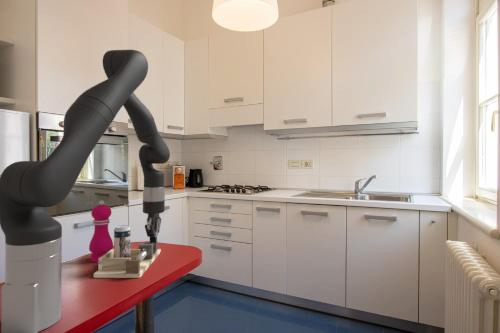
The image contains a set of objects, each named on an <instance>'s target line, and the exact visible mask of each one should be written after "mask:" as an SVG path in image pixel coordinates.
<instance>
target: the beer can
mask: <svg viewBox="0 0 500 333" xmlns="http://www.w3.org/2000/svg"><path fill="white" fill-rule="evenodd" d="M113 249H114V258H130V249H131V227H130V225H127V224H121V225H120V224H119V225H116V226H115V228H114V229H113Z"/></svg>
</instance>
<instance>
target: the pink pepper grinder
mask: <svg viewBox="0 0 500 333" xmlns="http://www.w3.org/2000/svg"><path fill="white" fill-rule="evenodd" d="M98 201H99V200H98ZM111 216H112V209H111V207H110V206H109V205H106V204H105V200H100V201H99V202H98V205H95V207H93V208H92V210H91V217H92V218H93V220H92V221H93V223H92V225H94V232H93V235H92V237H91V239H90V241H89V245H88V246H89V247H88V250H89V251H90V252H91V254H90V262H92V263H98V259H99V258H100V257H102V256H103V255H104V254H106V253H107V252H109V251H110V250H111V249H114V241H113V238H112V237H111V234H110V232H109V224H110V220H111V219H110V217H111Z"/></svg>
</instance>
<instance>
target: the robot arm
mask: <svg viewBox="0 0 500 333" xmlns="http://www.w3.org/2000/svg"><path fill="white" fill-rule="evenodd" d="M102 67H103V70H104V74H105V76H106V78H107V79H104V80H103V81H101V82H99V83H97V84H95V85H93V86H91V87H89V88H87V89H86V90H85V91H84V92H82V93H81V94H80V95H79V96H78V97H77V98H76V99H75V100H74V101H73V102H72V104H71V105H70V106H69V107H68V109H67V110H66V112H65V114H64V118H63V132H62V133H63V134H62V135H63V136H62V139H61V141H60V142H59V143H58V145H57V146H56V147H55V148H54V150H53V151H52V152H51V153H50V154H49V155H48V156H47V157H46V158H45V159H43V160H42V161H41V160H21V161H15V162H13V163H11V164H9V165H7V166H6V167H5V168H4V170H3V171H2V173H1V175H0V229H1V230H2V232H3V234H4V239H5V243H4V244H5V246H4V247H5V248H4V249H5V252H4V253H5V254H4V256H5V257H4V260H5V261H4V264H5V265H4V266H5V267H4V268H5V270H4V284H3V285H2V286H1V287H0V288H1V291H0V292H1V298H0V299H1V304H0V307H1V309H0V312H1V313H0V314H1V315H0V316H1V317H0V319H1V321H0V322H1V325H0V327H1V329H0V332H1V333H39V332H40V331H43V330H46V329H48V328H50V327H52V326H54V325H55V324H57V323H58V322H59V321H60V319H61V318H62V269H63V268H62V267H63V266H62V265H63V264H62V262H63V261H62V260H63V259H62V257H63V256H62V249H63V248H62V243H63V242H62V241H63V237H62V236H63V227H62V223H61V222H59V221H58V220H56V219H55V218H53V217H52V216H51V215H50V213H49V212H48V210H47V208H50V207H55V206H57V205H59V204H60V203H62V202H63V201H64V200H65V199H66V198H67V197H68V196H69V194H70V193H71V191H72V189H73V188H74V186H75V184H76V182H77V180H78V178H79V176H80V174H81V172H82V170H83V168H84V166H85V164H86V162H87V160H88V159H89V157H90V155H91V154H92V152H93V151H94V149H95V147H96V146H97V145H98V143H99V141H100V140H101V138H102V136H103V135H104V134H105V133H106V131H107V130H108V128H109V127H110V126H111V124H112V123H113V121H115V120H114V119H115V118H116V116H117V115H118V113H119V111H120V110H121V109H122V107H124V110H125V111H126V113H127V114H128V116H129V119H130V121H131V125H132V127H133V130H134V132H135V135H136V137H137V140H138V141H139V142H140V143H142V144H143V145H141V147H140V148H139V150H138V158H139V162H140V166H141V171H142V174H143V192H142V213H143V214H147V218H146V224H145V225H144V230H145V233H146V236H147V237H148V238H149V241H158V235H159V233H160V229H161V225H162V224H161V223H162V218H161V216H160V214H162V213H164V212H165V208H166V207H165V205H166V202H165V200H166V197H165V196H166V195H165V194H166V193H165V172H164V171H163V170H158V169H156V168H155V167H154V165H155V164H157V165H163V164H166V163H168V162H169V161H170V157H171V156H170V155H171V153H170V149H169V146H168V145H167V143H166V142H165V140H164V139H163V137H162V135H161V134H160V132H159V131H158V128H157V124H156V121H155V118H154V116H153V114H152V113H151V111H150V109H149V108H148V107H147V106H146V105H145V104H144V103H143V102H142V101H141V100H140V99H139V97H137V95H136V94H135V93H134V92H135V91H136V90H137V89H138V88H139V86H141V84H142V83H143V82H144V81H145V79H146V77H147V75H148V71H149V61H148V59H147V56H145V54H144V53H143V52H142V51H140V50H135V49H111V50H107V51H106V52H105V53H104V54H103V57H102Z"/></svg>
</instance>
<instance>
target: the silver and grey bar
mask: <svg viewBox="0 0 500 333" xmlns="http://www.w3.org/2000/svg"><path fill="white" fill-rule="evenodd" d="M143 244H153V252H156V251H157V249H158V240H157V241H150V240H148V241H147V240H146V241H145V242H144V243H143ZM148 253H149V249H144V250H143V251H142V252H141V253H140V254H139V255H138V256H137V257H136V258H135V260H140V262H141V261H142V260H143V259H144V258H145V257H146V256H147V255H148Z"/></svg>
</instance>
